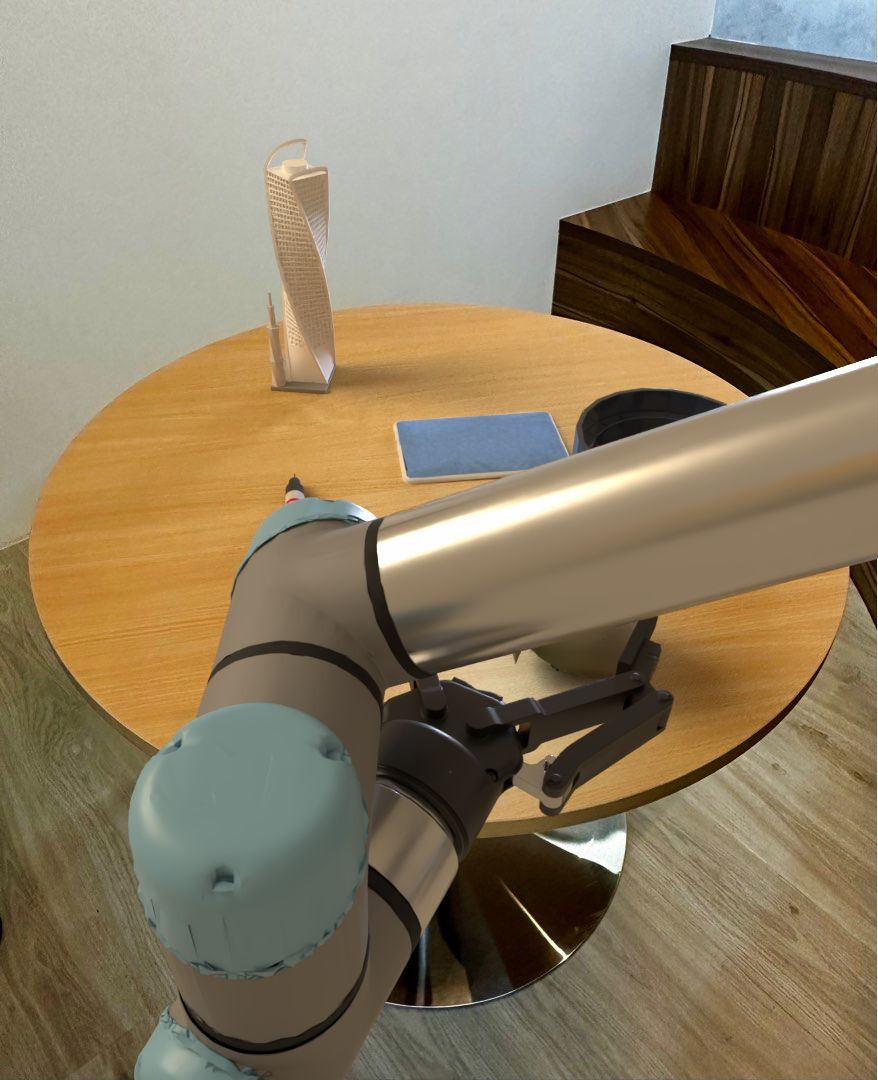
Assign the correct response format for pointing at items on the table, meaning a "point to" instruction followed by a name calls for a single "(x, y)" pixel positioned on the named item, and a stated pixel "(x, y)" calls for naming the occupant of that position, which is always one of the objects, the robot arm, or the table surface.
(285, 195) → the skyscraper
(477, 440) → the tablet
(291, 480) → the marker
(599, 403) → the dark grey dish
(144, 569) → the table surface
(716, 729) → the table surface
